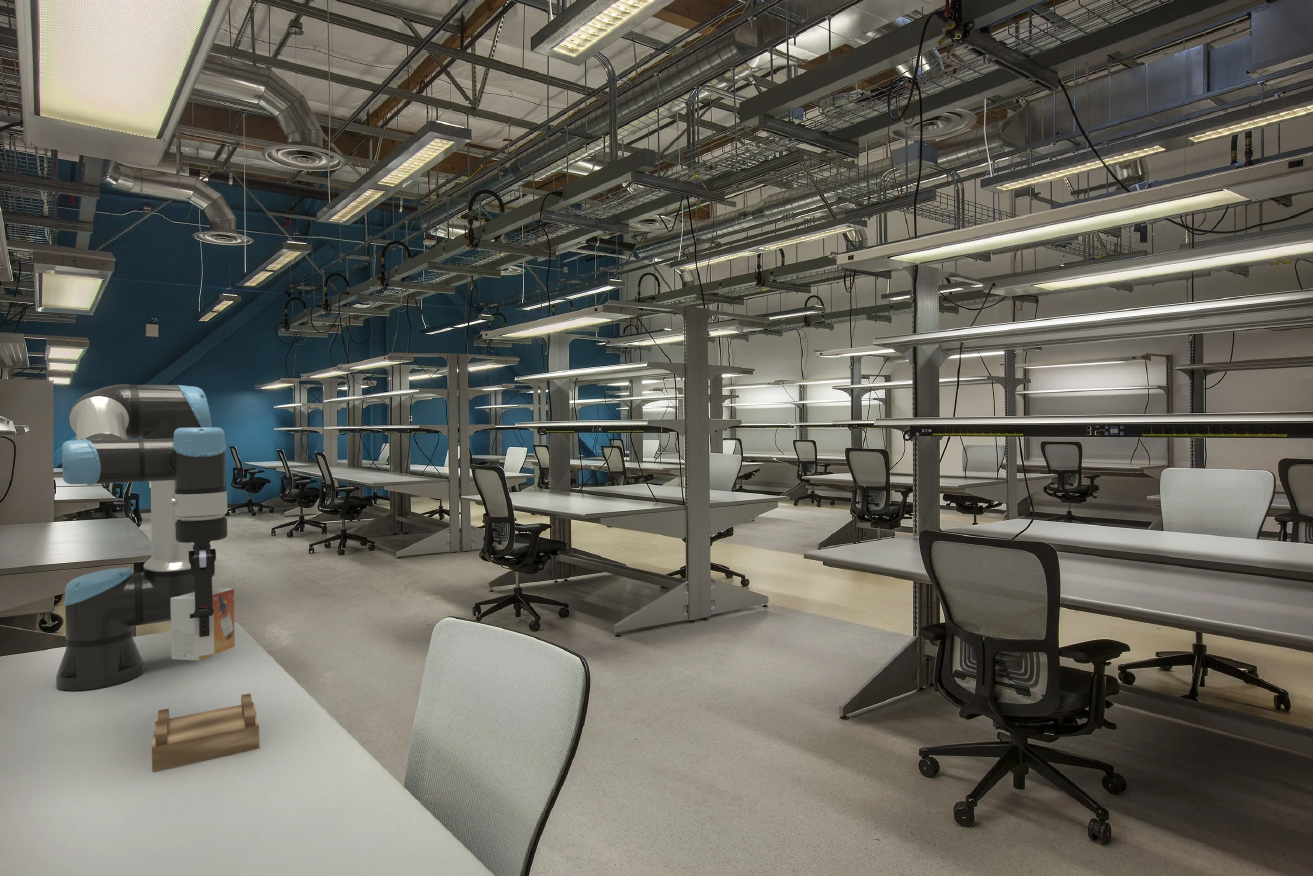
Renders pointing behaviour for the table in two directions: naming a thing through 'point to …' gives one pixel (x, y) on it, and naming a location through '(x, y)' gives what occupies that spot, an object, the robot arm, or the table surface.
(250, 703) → the wooden tray
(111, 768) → the table surface
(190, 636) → the small box
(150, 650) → the table surface
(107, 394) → the robot arm
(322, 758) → the table surface
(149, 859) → the table surface
